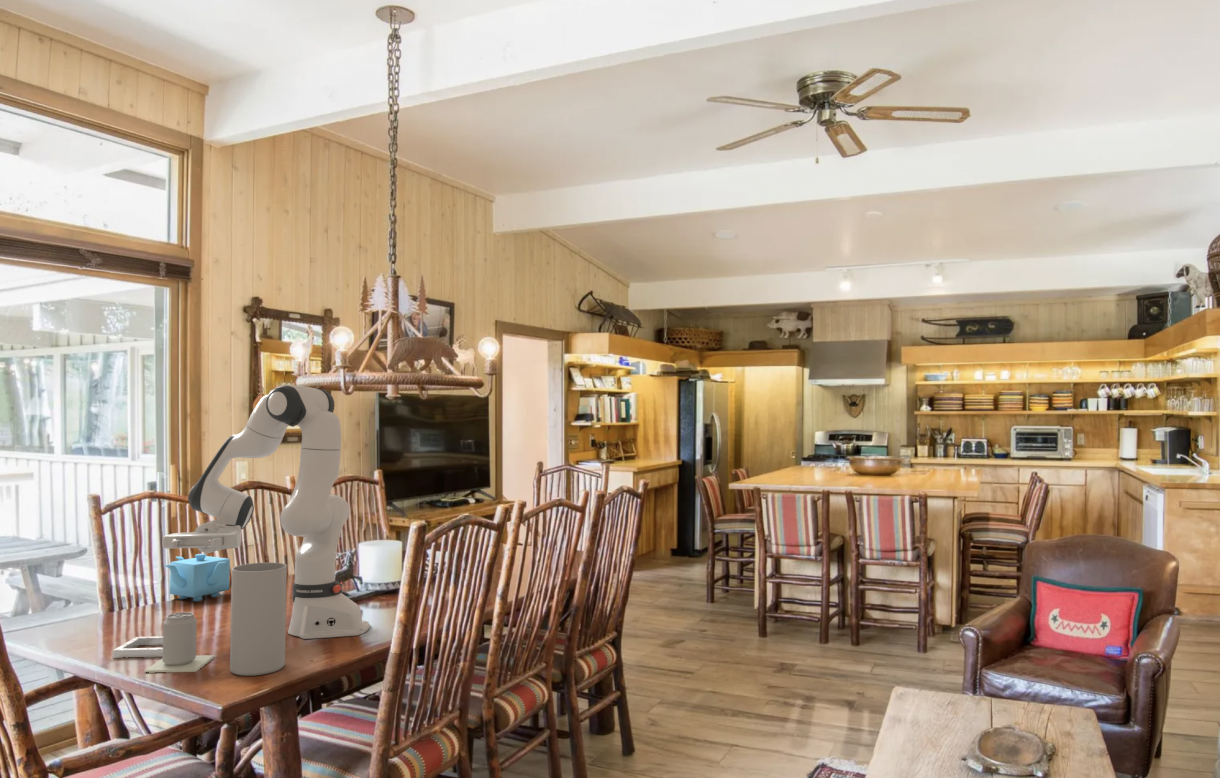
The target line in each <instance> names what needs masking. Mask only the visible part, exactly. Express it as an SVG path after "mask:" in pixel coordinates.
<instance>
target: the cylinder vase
mask: <svg viewBox="0 0 1220 778" xmlns="http://www.w3.org/2000/svg"><path fill="white" fill-rule="evenodd" d="M287 568H288V565H287V564H285V563H282V562H253V563H245V564H240V565H239V564H238V565H236V566H233V567H232V568H231V586H230V587H231V588H230V589H231V590H230V592H231V594H230V596H231V598H230V646H229V648H230V649H229V671H230V672H231V673H232V674H234V675H236V676H244V677H253V676H255V677H256V676H262V675H268V674H271V673H276V672H278V671H280V670H281V669H283V667H284V666H285V664H286V620H287V619H286V618H287V615H286V614H287V613H286V612H287Z"/></svg>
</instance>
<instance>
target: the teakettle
mask: <svg viewBox="0 0 1220 778" xmlns="http://www.w3.org/2000/svg"><path fill="white" fill-rule="evenodd" d="M175 559H177V560H175V561H171V562H170V563H169V564H165V565H164V567H166V568H168V569H169V572H170V573H169V595H175V596H179V597H178V600H187V599H189V598H192V602H202V601H203V596H207V595H210V597H211V596H212V597H211V598H217V597H216V596H220V597H221V592H225V591H229V590H230V576H231V575H230V571H231V569H230V567H231V561H230V560H231V559H230V558H227V557H219V556H210V555H209V556H208V555H207V553H197V554H195V555H194V557H192V558H187V559H186V558H184V557H182V556H179V555H178V556H175ZM201 600H202V601H201Z"/></svg>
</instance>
